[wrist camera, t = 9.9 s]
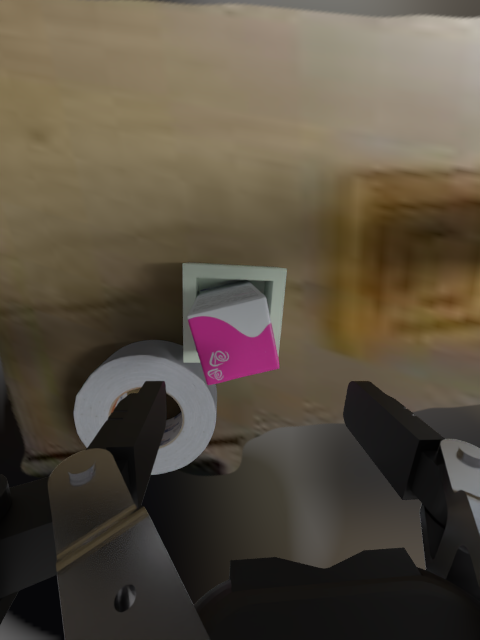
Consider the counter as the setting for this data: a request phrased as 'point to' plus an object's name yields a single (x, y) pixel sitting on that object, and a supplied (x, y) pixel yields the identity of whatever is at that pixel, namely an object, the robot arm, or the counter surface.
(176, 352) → the tape roll
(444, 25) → the counter surface
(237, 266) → the holder
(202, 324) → the supplement box
